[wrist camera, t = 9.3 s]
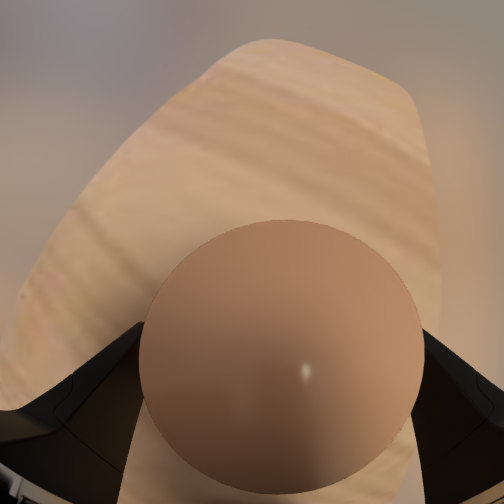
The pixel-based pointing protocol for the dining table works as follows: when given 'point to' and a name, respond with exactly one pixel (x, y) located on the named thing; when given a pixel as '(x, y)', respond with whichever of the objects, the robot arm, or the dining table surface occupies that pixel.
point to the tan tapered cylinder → (281, 357)
